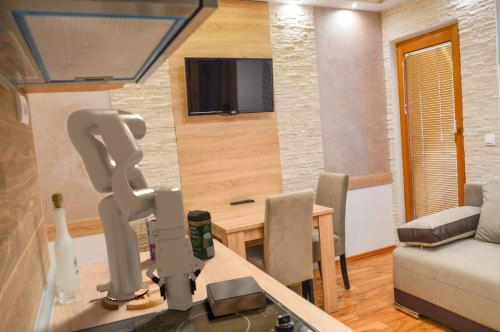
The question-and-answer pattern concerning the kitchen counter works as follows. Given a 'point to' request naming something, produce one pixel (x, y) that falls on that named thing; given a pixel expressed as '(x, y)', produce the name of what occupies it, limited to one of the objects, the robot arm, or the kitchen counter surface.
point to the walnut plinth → (235, 295)
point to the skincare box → (178, 291)
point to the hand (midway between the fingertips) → (178, 295)
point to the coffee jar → (201, 234)
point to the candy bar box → (151, 227)
